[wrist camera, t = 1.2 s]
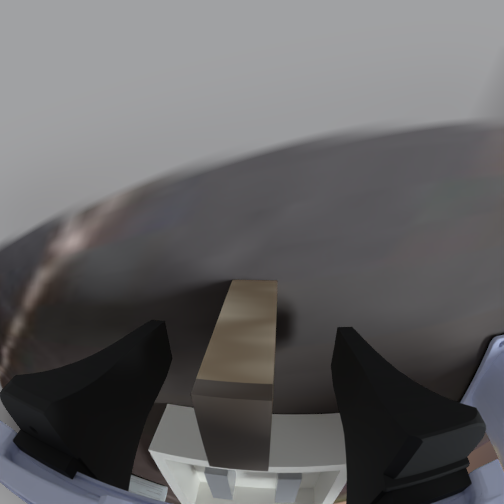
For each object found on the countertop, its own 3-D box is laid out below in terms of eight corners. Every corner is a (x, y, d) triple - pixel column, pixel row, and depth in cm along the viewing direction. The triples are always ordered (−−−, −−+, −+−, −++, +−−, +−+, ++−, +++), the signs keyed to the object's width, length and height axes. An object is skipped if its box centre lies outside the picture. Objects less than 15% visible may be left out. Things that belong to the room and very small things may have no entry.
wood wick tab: (277, 280, 13) (272, 400, 6) (275, 351, 14) (268, 471, 7) (232, 279, 13) (190, 394, 6) (236, 350, 14) (209, 466, 8)
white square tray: (348, 412, 15) (357, 462, 12) (320, 483, 19) (322, 518, 15) (167, 403, 16) (148, 449, 13) (194, 476, 20) (185, 510, 16)
